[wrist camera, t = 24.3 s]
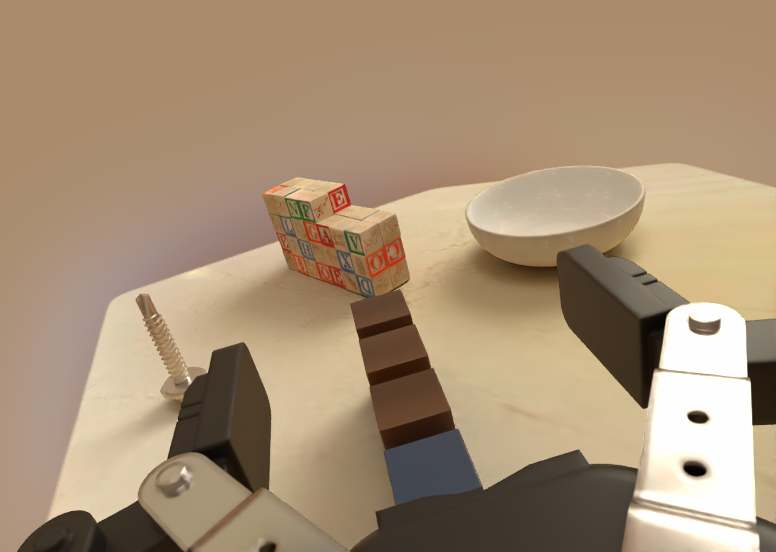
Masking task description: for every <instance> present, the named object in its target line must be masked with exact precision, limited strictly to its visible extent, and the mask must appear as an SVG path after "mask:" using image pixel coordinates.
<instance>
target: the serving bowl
mask: <svg viewBox="0 0 776 552" xmlns="http://www.w3.org/2000/svg"><path fill="white" fill-rule="evenodd" d="M644 199H645V186H644V184H643V183H642V181H641V180H640V179H639V178H637V177H636V176H634V175H632V174H630V173H628V172H625V171H622V170H619V169H614V168H609V167H599V166H565V167H556V168H549V169H542V170H538V171H533V172H529V173H525V174H521V175H518V176H515V177H512V178H509V179H506V180H503V181H501V182H498V183H496V184H494V185H492V186H490V187H488V188H486V189H485V190H483V191H482V192H480V193H479V194H478V195H476V196H475V197H474V198H473V199H472V200H471V201H470V203H469V204H468V206H467V208H466V213H465V215H466V220H467V222H468V225H469V228H470V230H471V232H472V234H473V236H474V237H475V239H476V240H477V242H478V243H479V244H480V245H481V246H482V247H483V248H484V249H485V250H487V251H488V252H489V253H491V254H493V255H494V256H496V257H498V258H500V259H502V260H505V261H508V262H511V263H515V264H519V265H525V266H536V267H548V266H557V261H556V260H557V254H558V252H560V251H563V250H567V249H570V248H574V247H577V246H581V245H584V244H590V245H591V246H593V247H594V248H595V249H597V250H598V251H599V252H600V253H605V252H606V251H608V250H610V249H612V248H613V247H615V246H616V245H618V244H619V243H620V242H621V241H622V240H624V239H625V238H626V237H627V236H628V235H629V233H630V232H631V231H632V230H633V228H634V227H635V225H636V224H637V222H638V220H639V218H640V215H641V213H642V209H643V205H644Z"/></svg>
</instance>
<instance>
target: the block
mask: <svg viewBox="0 0 776 552" xmlns="http://www.w3.org/2000/svg"><path fill="white" fill-rule="evenodd" d="M384 455H385V460H386V464H387V469H388V473H389V477H390V482H391V486H392V491H393V495H394V499H395V504H396V505H399V504H403V503H406V502H409V501H412V500H416V499H419V498H422V497H425V496H435V495H446V494H458V493H469V492H479V491H483V486H482V484H481V481H480V479H479V477H478V474H477V472H476V469H475V467H474V465H473V462H472V460H471V457H470V455H469V453H468V450H467V448H466V446H465V443H464V441H463V438H462V436H461V434H460V431H459V429H455V430H452V431H448V432H445V433H442V434H438V435H435V436H432V437H428V438H425V439H422V440H418V441H415V442H412V443H408V444H405V445H402V446H398V447H395V448H392V449H388V450H385V451H384Z"/></svg>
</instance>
